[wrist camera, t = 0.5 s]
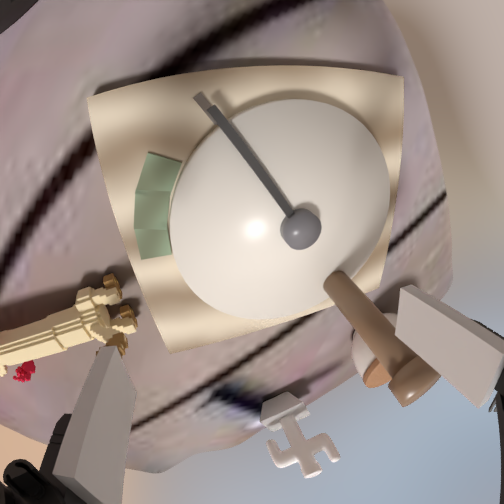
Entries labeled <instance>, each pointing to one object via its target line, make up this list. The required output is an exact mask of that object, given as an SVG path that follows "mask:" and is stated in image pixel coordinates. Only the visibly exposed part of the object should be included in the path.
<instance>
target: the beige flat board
mask: <svg viewBox="0 0 504 504" xmlns="http://www.w3.org/2000/svg"><path fill="white" fill-rule="evenodd" d="M282 99H304V100H312V101H317V102H322V103H327V104H329V105H332V106H335V107H337V108H340V109H342V110H344V111H345V112H347V113H349V114H350V115H352V116H354V117H355V118H356V119H357V120H358V121H360V122H361V123H362V124H363V125H364V126H365V127H366V128H367V129H368V130H369V132H370V133H371V134H372V135H373V137H374V138H375V140H376V141H377V143H378V145H379V146H380V148H381V151H382V153H383V155H384V158H385V161H386V164H387V168H388V173H389V180H390V202H389V209H388V214H387V219H386V222H385V225H384V229H383V231H382V234H381V236H380V239H379V241H378V243H377V245H376V247H375V248H374V250H373V252H372V254H371V255H370V257H369V258H368V260H367V261H366V263H365V264H364V265H363V267H362V268H361V269H360V270H359V272H358V273H357V274H356V275H355V276H354V277H353V278H352V279H351V280H352V281H353V282H354V283H355V284H356V285H357V286H358V287H359V288H360V289H361V290H362V292H363V293H364V294H365V293H367V292H370V291H372V290H375V289H377V288H379V285H380V281H381V277H382V273H383V268H384V264H385V259H386V255H387V250H388V245H389V240H390V234H391V229H392V223H393V217H394V211H395V204H396V197H397V190H398V182H399V173H400V163H401V152H402V138H403V118H404V77H401V76H396V75H391V74H385V73H378V72H372V71H364V70H356V69H347V68H336V67H322V66H295V65H276V66H249V67H234V68H223V69H214V70H206V71H198V72H191V73H185V74H179V75H173V76H168V77H163V78H158V79H153V80H148V81H144V82H140V83H136V84H132V85H128V86H124V87H120V88H117V89H113V90H110V91H106V92H103V93H100V94H97V95H94V96H91V97H88V98H87V103H88V109H89V115H90V120H91V125H92V130H93V135H94V140H95V145H96V149H97V153H98V158H99V162H100V166H101V170H102V174H103V177H104V181H105V185H106V188H107V192H108V196H109V199H110V202H111V206H112V209H113V212H114V216H115V219H116V222H117V225H118V228H119V231H120V234H121V237H122V240H123V243H124V246H125V249H126V251H127V254H128V257H129V260H130V262H131V265H132V268H133V270H134V273H135V275H136V278H137V281H138V283H139V286H140V288H141V291H142V293H143V295H144V298H145V300H146V303H147V305H148V307H149V310H150V312H151V314H152V316H153V319H154V321H155V323H156V325H157V328H158V330H159V332H160V334H161V336H162V338H163V340H164V342H165V345H166V347H167V349H168V351H169V353H170V354H172V353H176V352H180V351H185V350H189V349H193V348H197V347H201V346H204V345H208V344H212V343H216V342H219V341H223V340H227V339H230V338H234V337H237V336H241V335H244V334H248V333H251V332H254V331H258V330H261V329H264V328H268V327H271V326H274V325H277V324H280V323H283V322H287V321H290V320H293V319H296V318H299V317H302V316H305V315H308V314H310V313H313V312H316V311H319V310H322V309H325V308H327V307H330V306H333V305H335V303H334V302H333V301H332V299H331V298H330V297H329V298H328V299H326V300H324V301H323V302H321V303H319V304H317V305H315V306H313V307H311V308H309V309H307V310H304V311H302V312H299V313H297V314H293V315H289V316H286V317H280V318H274V319H261V320H260V319H246V318H240V317H235V316H232V315H229V314H226V313H223V312H221V311H219V310H217V309H215V308H213V307H211V306H210V305H208V304H207V303H205V302H204V301H203V300H202V299H200V298H199V297H198V296H197V295H196V294H195V293H194V292H193V291H192V290H191V288H190V287H189V286H188V285H187V283H186V282H185V280H184V279H183V277H182V275H181V273H180V271H179V269H178V267H177V264H176V261H175V259H174V255H173V250H172V245H171V239H170V226H169V215H170V207H171V200H172V196H173V193H174V189H175V186H176V183H177V180H178V178H179V176H180V174H181V171H182V169H183V167H184V165H185V164H186V162H187V161H188V159H189V157H190V156H191V154H192V153H193V151H194V150H195V149H196V148H197V146H198V145H199V144H200V143H201V142H202V141H203V139H204V138H205V137H206V136H207V135H208V134H209V133H210V132H212V131H213V130H214V129H215V128H216V127H217V126H218V125H217V124H216V122H215V121H214V120H213V119H212V117H211V116H210V115H209V114H208V112H207V111H206V110H207V109H208V108H210V107H211V106H212V105H214V104H215V105H216V106H217V107H218V109H219V110H220V111H221V113H222V114H223V115H224V116H225V118H226V119H229V118H230V117H232V116H233V115H235V114H236V113H239V112H241V111H243V110H245V109H247V108H249V107H252V106H254V105H258V104H261V103H265V102H268V101H274V100H282Z"/></svg>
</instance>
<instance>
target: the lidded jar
mask: <svg viewBox="0 0 504 504" xmlns="http://www.w3.org/2000/svg"><path fill="white" fill-rule="evenodd" d="M382 314H383V315H384V316H385V317H386V318H387V319H388V320H389V321H390V323H391V324H392V325H393V326H394V327H395V328H396V323H397V315H398V314H395V313H382ZM351 354H352V360H353V362H354V365H355V367H356V369H357V371H358V373H359V374H360V376H361V378H362V379H363V382H364V383H365V385H366V386H367V387H369V388H374V387H378V386H380V385H383V384H385V383H387V382H389V381H390V380H392V378H391V376H390V375H389V374H388V372H387V371H386V370H385V368H384V367H383V366H382V364H381V363H380V362H379V360H378V359H377V358H376V356H375V355H374V354H373V352H372V351H371V350H370V348H369V347H368V346H367V344H366V343H365V342H364V340H363V339H362V338H361V337H360V335H359V334H358V333H357V331H356V330H355V331H354V333H353V342H352V347H351Z"/></svg>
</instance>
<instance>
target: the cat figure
mask: <svg viewBox="0 0 504 504" xmlns="http://www.w3.org/2000/svg"><path fill="white" fill-rule="evenodd" d="M103 283H104V285H105V287H106V288H105V289H104V288H103V287H102V288H99V289H96V290H95V289H94V288H93V289H92V287H87V288H84V289H81V290H78V294H77V296H76V302H75V304H74V305H73V307H71V308H68V309H65V310H62V311H60V312H57V313H54V314H51V315H48V316H47V318H45V319H42V320H39V321H36V322H33V323H30V324H28V325H25V326H22V327H19V328H16V329H13V330H5V331H2V332H0V376H1V377H3V376H4V375H5V374H7V367H6V365H8V366H10V365H15V364H19V363H23V362H24V363H23V364H22V366H21V367H20V366H19V367H18V369H16V372H17V376H18V377H16V376H13V379H14V380H18V381H22V382H25V380H26V381H29V380H30V379H31V374H32V373H35V367H36V366H35V365H34V362H33V360H34V359H37V358H41V357H44V356H48V355H51V354H55V353H58V352H62V351H65V350H67V348H68V347H71V346H74V345H77V344H81V343H84V342H87V341H91V340H94V338H97V339H98V341H101V342H102V341H103V342H104V343H106V346H117V349H118V351H119V354H120V356H121V358H122V355H125V348H128V341H127V338H126V336H125V335H124V333H127V334H131V333H134V332H136V327H138V325H137V320H136V318H135V316H134V312H133V310H132V308H131V307H129V305H125V306H122V307H120V315H121V317H122V318H123V319H120V317H119V318H116V319H113V320H112V319H111V318H110V315H109V314H108V310H107V308H106V306H105V305H106V304H110V305H113V304H116V303H119V302H120V299H122V291H121V289H120V287H119V283H118V280H117V278H116V276H114V274H113V273H112V274H109V275H106V276H104V277H103ZM106 346H103V347H106ZM100 348H101V347H99V350H100ZM98 352H99V351H96V356H97V354H98Z"/></svg>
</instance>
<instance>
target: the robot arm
mask: <svg viewBox="0 0 504 504" xmlns="http://www.w3.org/2000/svg"><path fill="white" fill-rule="evenodd" d="M36 1H37V0H0V34H1V33H2V32H3V31H4V30H6V29H7V28H8V27H9V26H11V25H12V24H13V23H14V22H15V21H16V20H18V19H19V18H20V17H21V16H22V15H23V14H24V13H25V12H26V11H27V10H28V9H29V8H30V7H31V6H32V5H33V4H34V3H35V2H36ZM395 336H397V337H398V338H399V339H400V340H401V341H402V342H404V343H405V344H406V345H407V346H408V347H409V348H411V349H412V350H413V351H414V352H415V353H416V354H417V355H419V356H420V357H421V358H422V359H423V360H424V361H426V362H427V363H428V364H429V365H430V366H431V367H432V368H433V369H435V370H436V371H437V372H438V373H439V374H440V375H441V376H443V377H444V378H445V379H446V380H447V381H448V382H449V383H450V384H452V385H453V386H454V387H455V388H456V389H457V390H458V391H459V392H461V393H462V394H463V395H464V396H465V397H466V398H467V399H468V400H469V401H470V402H471V403H473V404H474V405H475V406H476V407H477V408H480V407H481V406H482V405H483V404H485V403H486V402H487V401H488V400H489V398H490V396H491V394H492V392H493V390H494V389H495V390H496V391H498V392H497V394H496V396H495V398H494V400H493V402H492V404H491V406H490V407H489V412H491V411H492V409H493V407H494V405H495V404H496V407H495V409H494V412H497V414H498V422H499V432H500V446H501V493H500V504H504V337H502V336H501V335H499V334H498V333H496V332H493V330H491V329H489V328H487V327H486V326H485V325H483V324H482V323H480V322H478V321H475V320H472V319H470V318H468V317H466V316H465V315H463V314H461V313H460V312H458V311H456V310H455V309H453V308H451V307H450V306H448V305H446V304H445V303H443V302H441V301H440V300H438V299H436V298H435V297H433V296H431V295H429V294H428V293H426V292H424V291H422V290H421V289H419V288H417V287H415V286H414V285H412V284H411V285H408V286H405V287H401V288H400V298H399V307H398V315H397V323H396V330H395ZM136 396H137V392H136V390H135V388H134V386H133V383H132V381H131V379H130V377H129V375H128V372H127V370H126V368H125V366H124V363H123V361H122V358H121V356H120V354H119V351H118V349H117V346H106V347H101V348H100V350H99V352H98V354H97V356H96V358H95V361H94V363H93V365H92V367H91V370H90V372H89V374H88V377H87V379H86V381H85V384H84V386H83V388H82V391H81V393H80V396H79V398H78V401H77V403H76V406H75V408H74V411H73V414H64V415H63V416H62V417H61V418H60V420H59V421H58V422H57V423H56V426H55V428H54V431H53V435H52V436H51V439H50V441H49V442H50V444H48V447H47V450H46V452H45V455H44V458H43V461H42V464H41V467H40V470H39V471H38V470H37V469H36V468H35V467H34V466H33V465H32V464H31V463H30V462H28V461H27V460H23V459H18V460H14V461H12V462H11V463H9V464H8V466H7V467H6V469H5V471H4V474H3V480H4V483H5V484H7V485H8V486H5V485H4V484H2V482H1V481H0V504H122V494H123V483H124V474H125V465H126V457H127V450H128V443H129V436H130V430H131V424H132V418H133V412H134V406H135V401H136Z"/></svg>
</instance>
